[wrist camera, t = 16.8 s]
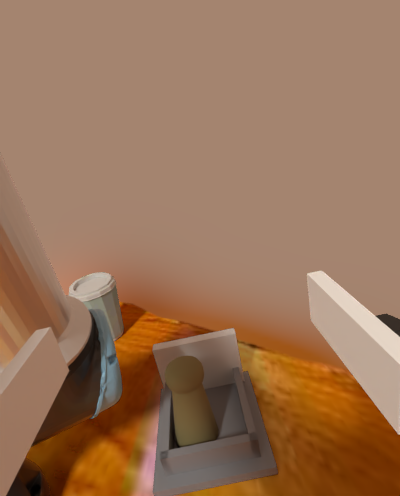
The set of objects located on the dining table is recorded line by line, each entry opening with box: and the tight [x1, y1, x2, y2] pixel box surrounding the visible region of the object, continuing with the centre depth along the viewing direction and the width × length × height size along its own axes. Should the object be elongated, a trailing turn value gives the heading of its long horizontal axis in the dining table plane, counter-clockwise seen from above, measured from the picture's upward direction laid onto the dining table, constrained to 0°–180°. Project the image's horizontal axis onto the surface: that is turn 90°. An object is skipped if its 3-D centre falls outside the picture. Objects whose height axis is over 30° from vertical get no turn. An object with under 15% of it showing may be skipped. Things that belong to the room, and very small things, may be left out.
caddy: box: [153, 328, 278, 496], centre depth 41 cm, size 16×15×10 cm
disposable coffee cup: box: [69, 272, 124, 341], centre depth 69 cm, size 11×11×15 cm
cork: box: [165, 356, 219, 448], centre depth 40 cm, size 6×6×11 cm
